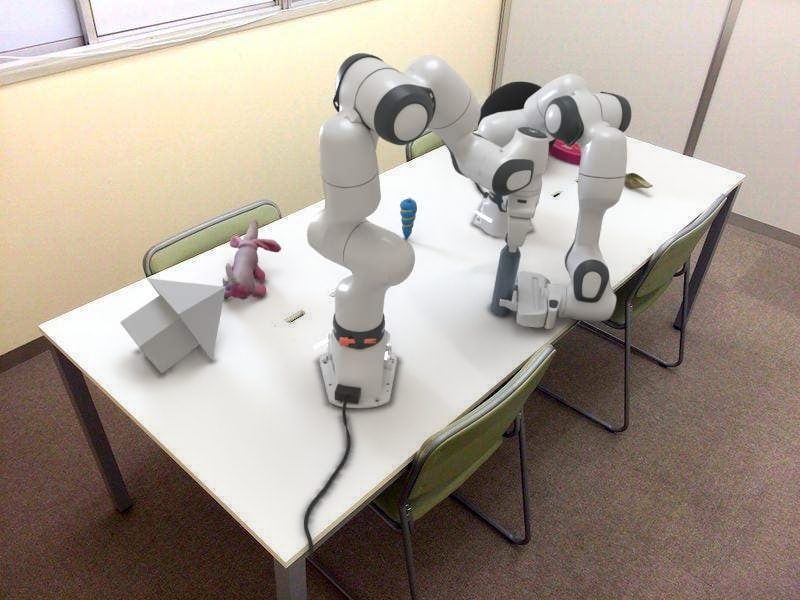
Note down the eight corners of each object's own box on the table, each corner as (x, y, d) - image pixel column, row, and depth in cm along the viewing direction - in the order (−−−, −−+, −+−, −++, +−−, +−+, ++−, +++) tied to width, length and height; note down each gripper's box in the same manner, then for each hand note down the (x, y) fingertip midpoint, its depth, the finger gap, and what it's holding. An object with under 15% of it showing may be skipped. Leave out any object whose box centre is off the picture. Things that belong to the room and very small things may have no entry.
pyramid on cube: (256, 326, 161) (227, 278, 148) (174, 389, 154) (136, 344, 140) (223, 293, 171) (193, 245, 157) (145, 351, 164) (106, 305, 150)
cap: (505, 245, 164) (506, 238, 162) (504, 236, 167) (506, 230, 166) (520, 246, 163) (522, 240, 162) (520, 238, 167) (521, 231, 165)
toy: (299, 270, 187) (288, 223, 179) (243, 315, 171) (228, 266, 163) (250, 258, 196) (238, 213, 188) (193, 300, 180) (176, 253, 172)
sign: (588, 172, 247) (635, 153, 263) (590, 164, 245) (637, 145, 261) (529, 144, 265) (575, 128, 281) (530, 136, 263) (577, 120, 278)
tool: (597, 174, 249) (599, 163, 246) (610, 171, 251) (612, 160, 248) (638, 197, 232) (641, 185, 229) (652, 193, 234) (655, 182, 231)
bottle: (486, 307, 179) (499, 235, 165) (501, 301, 181) (515, 230, 167) (498, 317, 176) (512, 245, 162) (513, 312, 178) (528, 240, 164)
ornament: (395, 240, 203) (397, 197, 194) (403, 233, 207) (405, 190, 198) (410, 245, 201) (413, 202, 192) (417, 237, 205) (420, 195, 196)
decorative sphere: (465, 170, 243) (475, 91, 225) (481, 139, 266) (491, 65, 248) (546, 185, 237) (563, 105, 219) (556, 152, 260) (571, 77, 242)
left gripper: (509, 173, 165) (501, 220, 174) (507, 212, 149) (498, 263, 158) (534, 175, 165) (525, 223, 173) (535, 216, 149) (524, 266, 157)
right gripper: (552, 268, 180) (502, 262, 182) (556, 314, 164) (500, 307, 165) (548, 287, 184) (498, 281, 185) (551, 333, 168) (497, 326, 169)
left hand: (512, 242), depth 165 cm, fingers open, 6 cm apart
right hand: (499, 294), depth 175 cm, fingers closed on bottle, 5 cm apart
